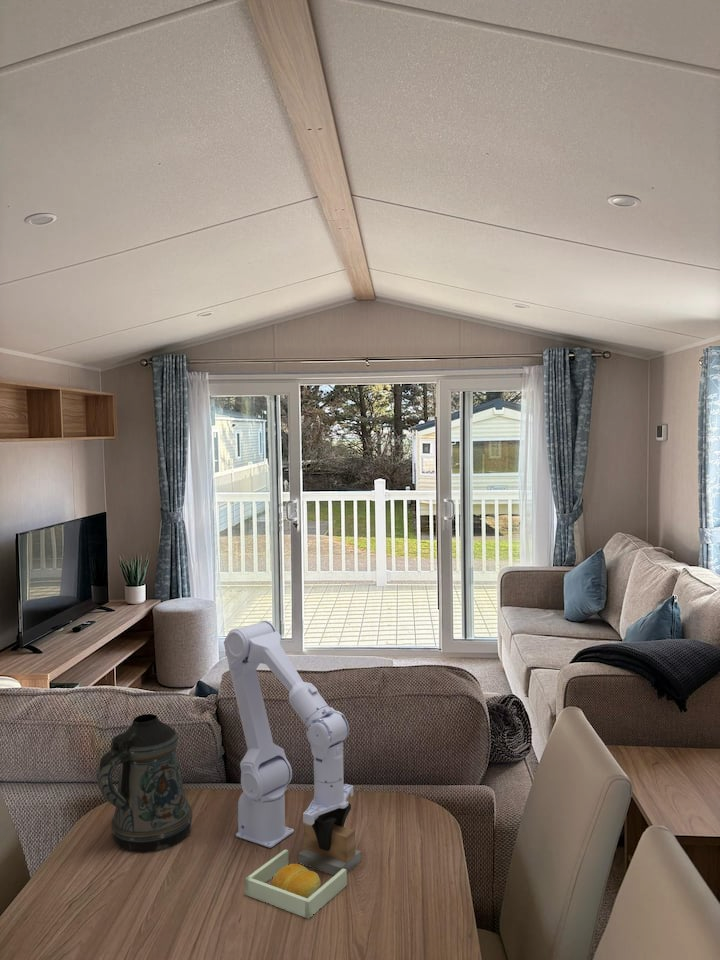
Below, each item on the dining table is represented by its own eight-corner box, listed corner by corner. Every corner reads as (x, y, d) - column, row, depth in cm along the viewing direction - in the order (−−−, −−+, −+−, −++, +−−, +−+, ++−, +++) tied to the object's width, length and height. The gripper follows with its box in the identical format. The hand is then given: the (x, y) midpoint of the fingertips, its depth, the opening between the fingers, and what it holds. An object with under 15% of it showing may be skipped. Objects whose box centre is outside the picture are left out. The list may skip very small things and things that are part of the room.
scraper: (298, 863, 157) (297, 828, 156) (318, 847, 163) (318, 813, 162) (341, 878, 151) (340, 841, 151) (360, 861, 157) (360, 826, 157)
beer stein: (204, 817, 176) (201, 705, 174) (167, 865, 157) (164, 739, 155) (133, 812, 179) (130, 701, 177) (89, 857, 160) (84, 734, 158)
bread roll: (297, 910, 142) (297, 888, 142) (265, 890, 148) (264, 869, 148) (331, 890, 148) (331, 869, 148) (298, 872, 154) (298, 852, 154)
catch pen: (245, 894, 146) (244, 878, 146) (285, 864, 157) (285, 849, 156) (308, 919, 139) (308, 902, 139) (346, 885, 149) (346, 869, 149)
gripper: (324, 796, 148) (325, 867, 149) (366, 767, 160) (366, 834, 161) (293, 787, 151) (294, 857, 152) (336, 760, 164) (337, 825, 165)
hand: (329, 844), depth 157 cm, fingers closed on scraper, 3 cm apart
